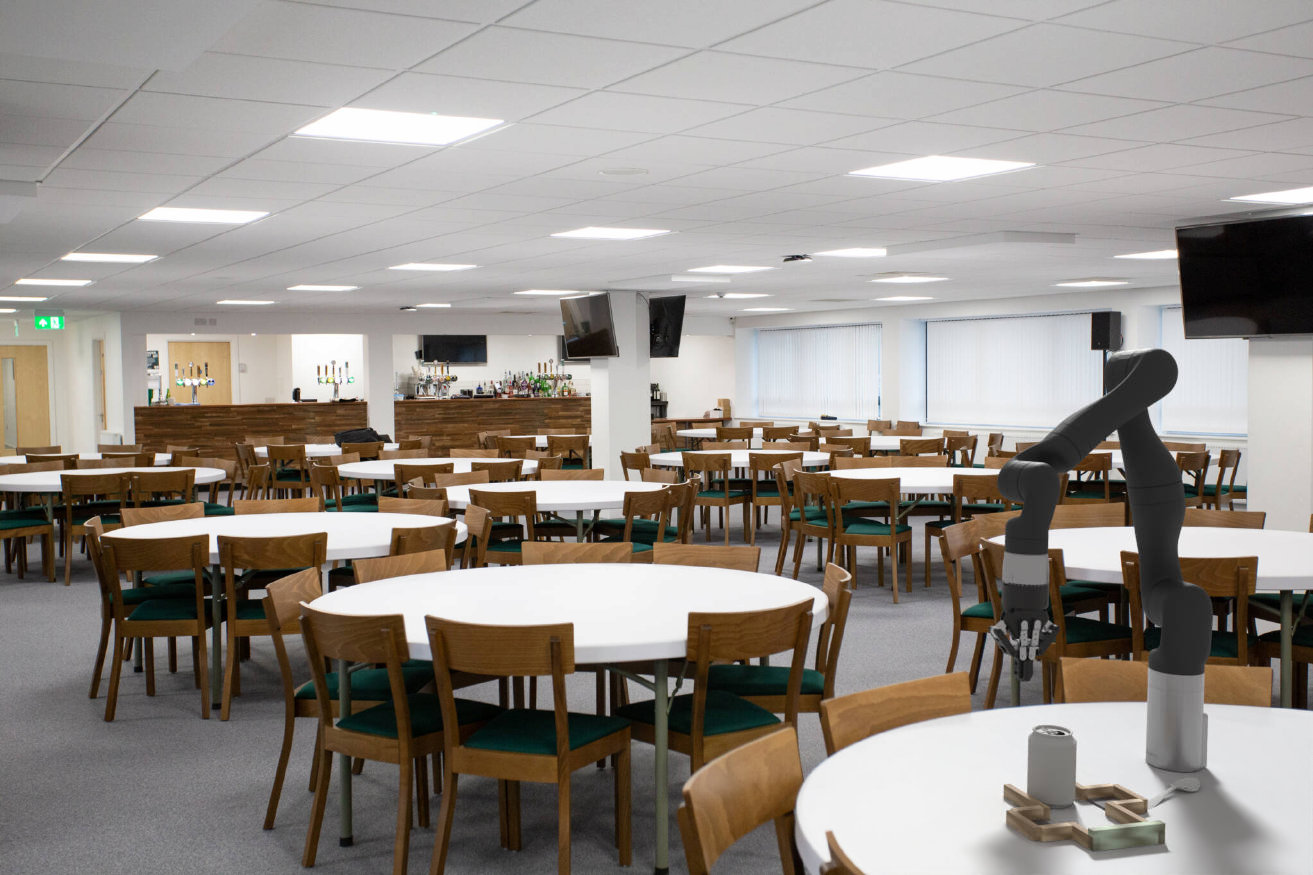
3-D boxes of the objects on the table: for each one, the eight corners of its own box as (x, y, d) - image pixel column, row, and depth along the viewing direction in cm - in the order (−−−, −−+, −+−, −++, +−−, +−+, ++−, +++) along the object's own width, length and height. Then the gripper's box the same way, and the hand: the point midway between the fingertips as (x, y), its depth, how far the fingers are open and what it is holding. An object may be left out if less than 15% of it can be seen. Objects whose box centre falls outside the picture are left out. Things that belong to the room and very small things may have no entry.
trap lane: (1100, 786, 189) (1100, 769, 189) (1199, 839, 167) (1200, 819, 167) (970, 799, 183) (970, 781, 183) (1055, 855, 161) (1056, 835, 160)
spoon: (1206, 790, 190) (1206, 780, 189) (1146, 818, 176) (1147, 807, 176) (1182, 783, 193) (1182, 774, 193) (1121, 810, 180) (1121, 800, 180)
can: (1079, 812, 178) (1080, 737, 177) (1029, 808, 179) (1031, 734, 179) (1071, 795, 185) (1073, 723, 185) (1024, 791, 187) (1025, 720, 186)
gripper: (1046, 574, 194) (1043, 673, 195) (978, 576, 191) (976, 677, 192) (1073, 581, 187) (1070, 684, 188) (1003, 583, 184) (1000, 688, 184)
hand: (1022, 680), depth 190 cm, fingers closed
